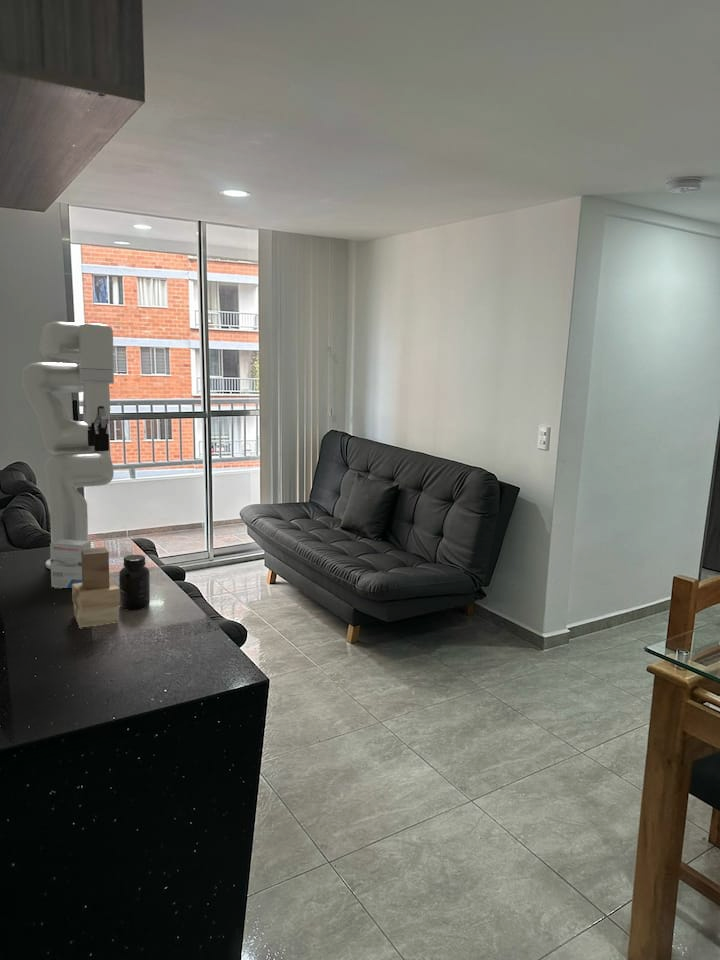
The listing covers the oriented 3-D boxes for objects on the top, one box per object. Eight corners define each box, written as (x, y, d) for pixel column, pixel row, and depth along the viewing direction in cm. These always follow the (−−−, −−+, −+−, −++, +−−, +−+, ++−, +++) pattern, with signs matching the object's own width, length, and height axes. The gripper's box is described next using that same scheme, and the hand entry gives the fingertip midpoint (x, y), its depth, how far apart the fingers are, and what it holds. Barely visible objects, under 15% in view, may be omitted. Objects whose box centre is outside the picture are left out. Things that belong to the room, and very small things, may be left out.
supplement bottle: (113, 608, 153) (112, 559, 151) (130, 599, 159) (130, 551, 157) (139, 612, 151) (138, 562, 149) (155, 603, 158) (155, 555, 156)
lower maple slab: (74, 617, 147) (73, 600, 147) (111, 611, 152) (111, 595, 151) (79, 629, 141) (79, 612, 140) (118, 623, 145) (118, 606, 144)
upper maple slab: (72, 601, 146) (71, 584, 146) (109, 595, 151) (108, 578, 150) (81, 612, 140) (81, 594, 139) (119, 605, 145) (119, 588, 144)
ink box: (92, 584, 169) (91, 540, 167) (82, 590, 164) (81, 545, 162) (61, 581, 170) (59, 538, 168) (50, 588, 165) (49, 542, 163)
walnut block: (82, 583, 146) (81, 549, 145) (105, 580, 149) (104, 546, 147) (85, 590, 142) (84, 554, 141) (109, 587, 144) (108, 552, 143)
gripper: (74, 375, 160) (76, 444, 163) (85, 377, 146) (87, 453, 149) (107, 376, 164) (108, 443, 167) (120, 378, 150) (121, 452, 152)
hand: (98, 448), depth 158 cm, fingers open, 9 cm apart
